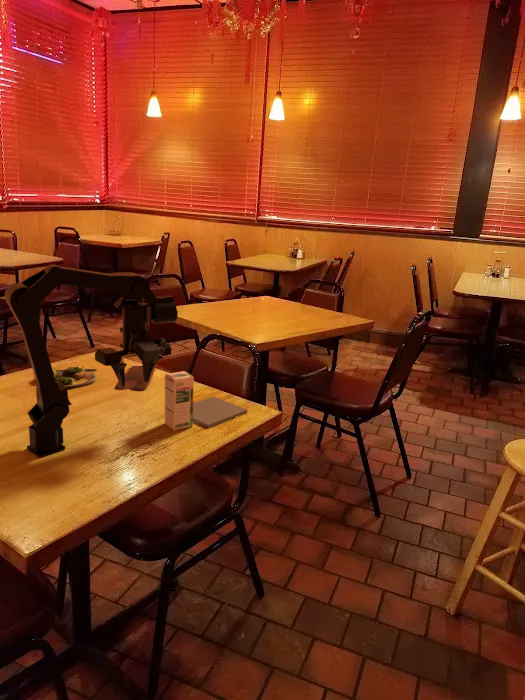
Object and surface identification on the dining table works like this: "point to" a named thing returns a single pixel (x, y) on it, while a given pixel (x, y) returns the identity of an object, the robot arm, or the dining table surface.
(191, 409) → the syrup box
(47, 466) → the dining table surface
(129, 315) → the robot arm
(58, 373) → the salad plate
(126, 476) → the dining table surface
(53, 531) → the dining table surface
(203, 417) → the slate board
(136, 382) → the wooden tablet
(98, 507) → the dining table surface
